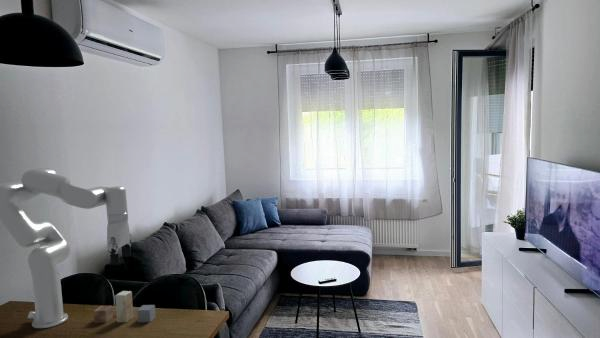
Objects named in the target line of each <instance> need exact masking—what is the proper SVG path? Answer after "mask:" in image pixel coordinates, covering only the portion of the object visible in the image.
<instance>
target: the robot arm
mask: <svg viewBox="0 0 600 338" xmlns="http://www.w3.org/2000/svg"><path fill="white" fill-rule="evenodd" d="M41 194H45V195H48V196H52V197H55V198H58V199H59V200H60V201H62V202H63V203H65V204H67V205H70V206H73V207H77V208H80V209H86V210H89V209H90V210H91V209H94V208H98V207H102V206H104V205H105V207H106V216H107V217H106V218H107V227H106V243H107V244H106V248H107V250H108V254H109V257H110V264H111V265H119V264H120V255H119V254H120V253H118V252H119V249H120V248H122V256H123V257H125V258H127V257H129V258H131V256H132V248H131V247H132V243H131V242H132V234H131V232H130V227H129V225H130V224H129V216H128V215H129V214H128V201H127V191H126V188H125V187H124V186H110V187H108V186H97V187H92V188H83V187H80V186H75V185H73V184H71V181H70V178H68V177H67V176H64V175H59V174H58V173H57V172H56V171H55V170H54V169H52V168H50V167H42V168H31V169H28V170H26V171H24V172H23V174H22V175H21V179H20V180H17V181H9V182H2V183H0V223H1V224H2V225H3V226H4V228H5V229H6V230H7V232H8V233H9V234H10V235H11V237H12V238H13V239H14V240H15V242H16V243H17V244H18V245H19V246H20V247H21V248H25V249H26V248H32V247H35V246H37V245H39V246H37V247H36V248H34V249H32V250H31V252H30V253H29V254H28V256H27V265H28V267H29V271H30V274H31V279H32V280H31V281H32V289H33V299H34V310H35V311H33V310H32V311H29V313H28V315H27V318H28V319H33V321H32V323H31V326H32V327H33V328H34V329H47V328H52V327H55V326H58V325H61V324H62V323H65V322H66V321H67V320H68V319H69V315H68V313H66V312H64V306H63V305H64V304H63V303H64V302H63V295H62V284H61V282H62V281H61V275H60V272H59V270H58V269H57V266H56V265H58V264H60V263H63V262H64V261H66V260H67V259H68V258H69V257H70V254H71V247H70V246H69V245H70V244H69V243H68V242H67V240H66V239H65V238H64V237H63V235H62V234H61V233H60V232H59V231H58V229H57V228H56V227H55V225H54V224H53V223H51V222H50V221H48V220H45V219H39V220H35V221H34V220H32V219H31V218H30V217H29V215H28V214H27V213H26V211H24V210H23V209H22V208H20V207H19V206H17V205H16V204H15V203H20V202H24V201H25V202H26V201H30V200H31V199H33V198H35V197H37V196H38V195H41Z"/></svg>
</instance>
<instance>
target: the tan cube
mask: <svg viewBox="0 0 600 338" xmlns="http://www.w3.org/2000/svg"><path fill="white" fill-rule="evenodd" d="M93 318H94V319H93V320H94V323H95V324H102V323H103V324H104V323H105V324H107V323H108V322H110V321H111V320H112V319H113V318H114V312H113V305H100V306H99V307H97V308H96V309H95V310H93Z"/></svg>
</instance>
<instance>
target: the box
mask: <svg viewBox="0 0 600 338" xmlns="http://www.w3.org/2000/svg"><path fill="white" fill-rule="evenodd" d="M114 297H115V298H114V299H115V313H116V322H117V323H128V322H129V321H131V320H132V319H133V318H134V306H133V292H132V291H131V290H129V291H128V290H122V291H120V292H118V293H117V294H115V295H114Z"/></svg>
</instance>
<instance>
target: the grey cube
mask: <svg viewBox="0 0 600 338" xmlns="http://www.w3.org/2000/svg"><path fill="white" fill-rule="evenodd" d="M155 318H156V305H155V304H142V305H141V306H140V307H139V308H138V309H137V323H151V322H152V321H153V320H154V319H155Z"/></svg>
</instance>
